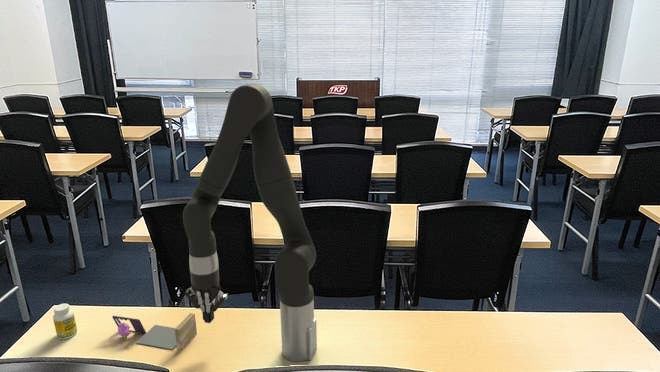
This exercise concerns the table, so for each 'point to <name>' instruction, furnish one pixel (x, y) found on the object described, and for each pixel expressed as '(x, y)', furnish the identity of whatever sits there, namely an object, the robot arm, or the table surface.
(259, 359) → the table surface
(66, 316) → the supplement bottle
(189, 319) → the tile
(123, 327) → the purple toy case
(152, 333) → the felt mat
